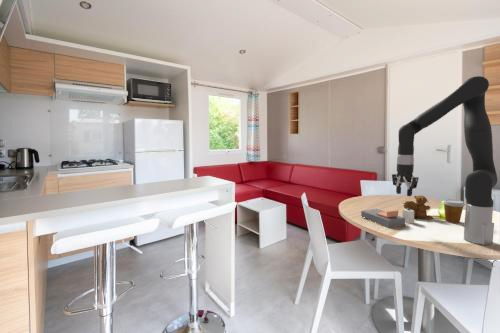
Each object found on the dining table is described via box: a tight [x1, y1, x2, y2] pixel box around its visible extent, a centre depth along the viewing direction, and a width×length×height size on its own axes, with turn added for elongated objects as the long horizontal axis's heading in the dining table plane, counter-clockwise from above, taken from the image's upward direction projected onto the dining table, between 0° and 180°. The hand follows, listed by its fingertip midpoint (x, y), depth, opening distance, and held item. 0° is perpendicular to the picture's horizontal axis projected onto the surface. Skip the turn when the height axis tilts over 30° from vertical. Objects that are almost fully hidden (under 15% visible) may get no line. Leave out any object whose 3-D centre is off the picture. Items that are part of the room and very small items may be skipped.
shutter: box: [376, 209, 399, 218], centre depth 144 cm, size 8×7×4 cm
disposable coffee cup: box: [442, 198, 466, 224], centre depth 143 cm, size 10×10×12 cm
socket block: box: [360, 208, 406, 229], centre depth 147 cm, size 20×12×4 cm, turn 18°
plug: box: [402, 208, 415, 224], centre depth 144 cm, size 4×4×8 cm
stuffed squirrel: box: [402, 195, 434, 220], centre depth 153 cm, size 10×14×13 cm
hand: (403, 194), depth 133 cm, fingers open, 5 cm apart
